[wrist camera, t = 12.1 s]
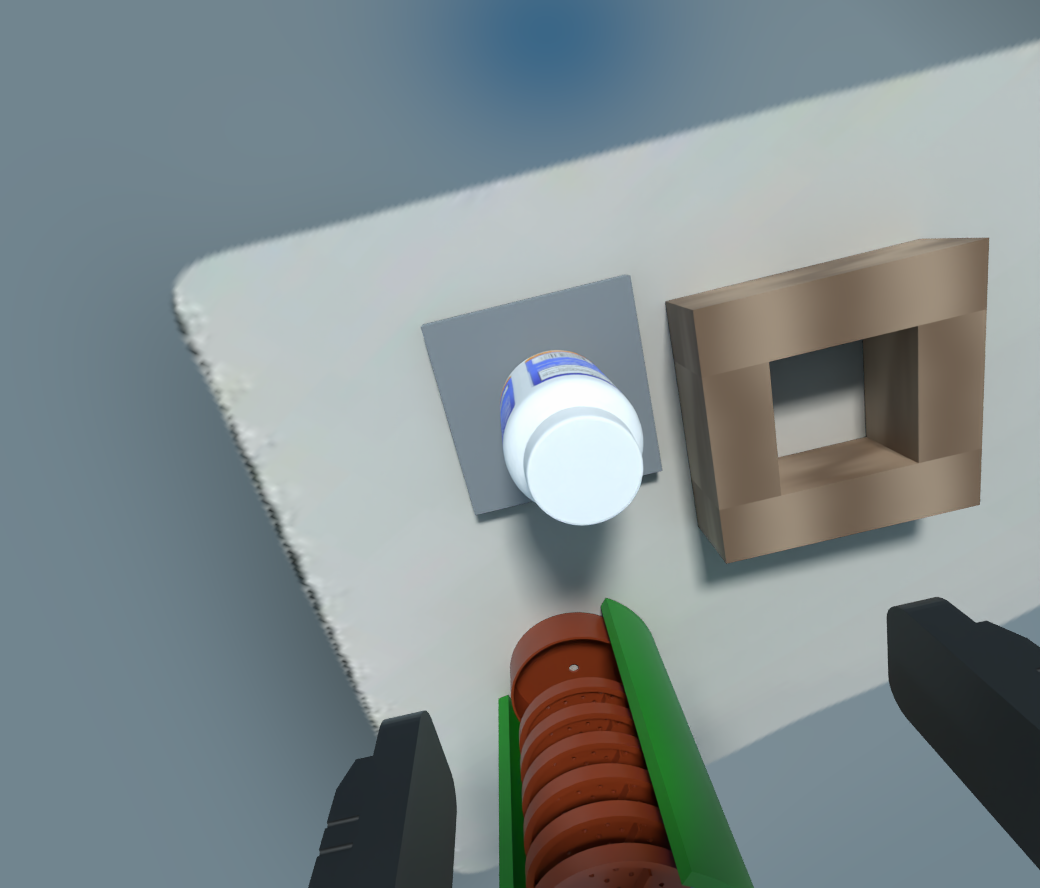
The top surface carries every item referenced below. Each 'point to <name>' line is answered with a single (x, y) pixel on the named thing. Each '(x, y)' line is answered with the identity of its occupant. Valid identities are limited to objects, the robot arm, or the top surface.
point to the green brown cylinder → (604, 766)
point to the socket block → (888, 395)
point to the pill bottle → (570, 438)
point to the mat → (511, 340)
